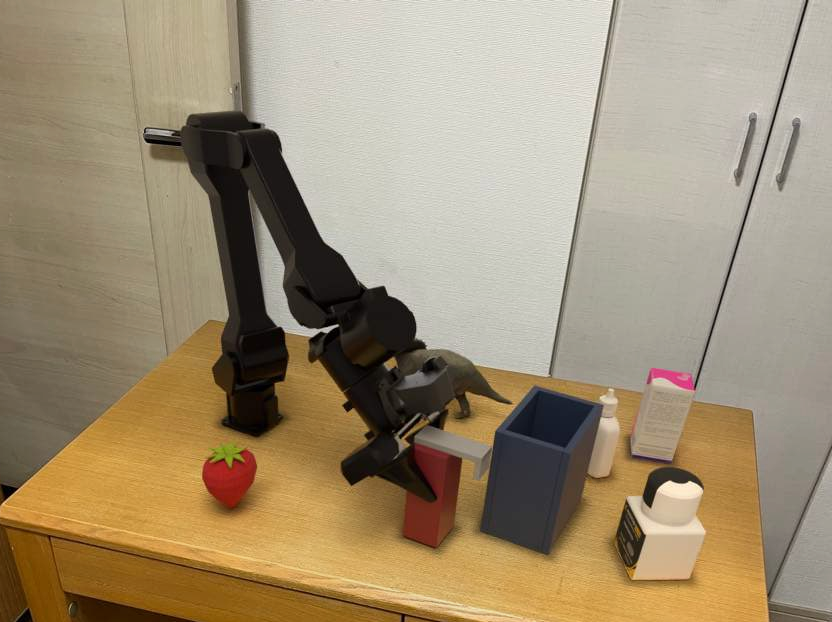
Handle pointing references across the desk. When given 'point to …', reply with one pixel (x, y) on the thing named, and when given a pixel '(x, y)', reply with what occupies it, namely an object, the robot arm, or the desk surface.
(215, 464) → the strawberry
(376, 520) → the desk surface
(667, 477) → the medicine bottle
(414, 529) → the red post with hook
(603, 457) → the eye dropper bottle
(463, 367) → the toy dinosaur
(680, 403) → the supplement box
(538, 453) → the storage box
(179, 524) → the desk surface
